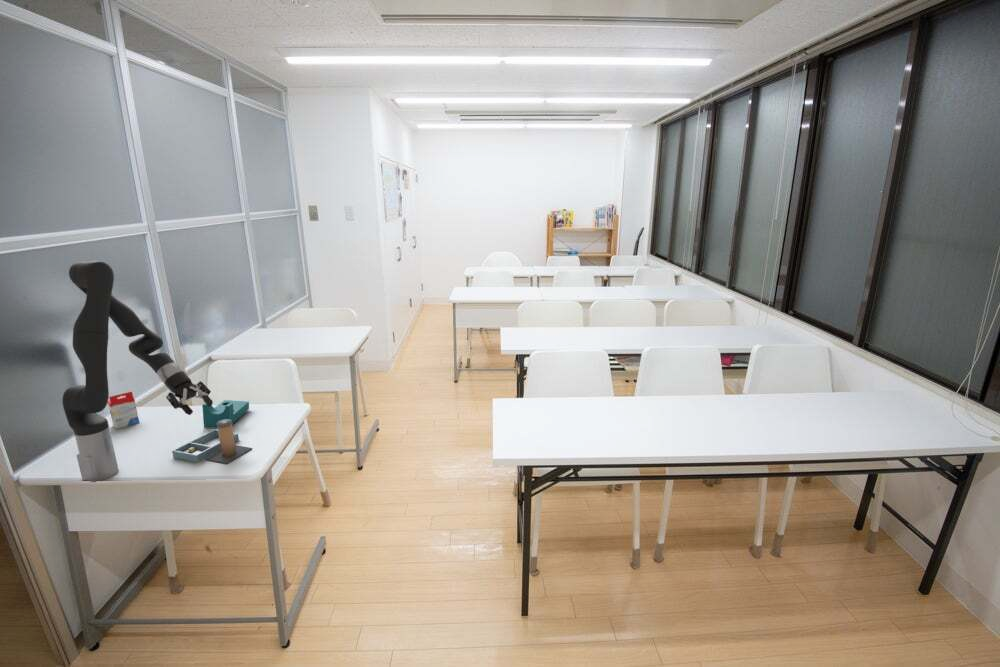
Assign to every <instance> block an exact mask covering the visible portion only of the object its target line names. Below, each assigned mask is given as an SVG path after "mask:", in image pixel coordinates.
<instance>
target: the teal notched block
mask: <svg viewBox="0 0 1000 667" xmlns="http://www.w3.org/2000/svg"><path fill="white" fill-rule="evenodd" d="M249 410H250V402H249V401H246V400H245V401H244V400H231V399H224V400H223V401H221V402H220V403H219V404H218V405H216V406H214V407H213V404H212V405H211V406H208V405H207V404H206V403H205V402H204V403H203V404H202V418H203V428H210V429H218V427H217V422H218V421H221V420H225V419H230V420H232V425H233V423H234V424H235V422H236V421H237V420H239V419H240V418H241V417H242V416H243V415H244V414H245V413H246V412H248V411H249Z"/></svg>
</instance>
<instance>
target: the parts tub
mask: <svg viewBox="0 0 1000 667" xmlns="http://www.w3.org/2000/svg"><path fill="white" fill-rule="evenodd" d="M233 434H234V441H235V443H236V442H239V440H240V438H239V433H237V432H234V431H233ZM214 438H219V434H218V428H213V429H212V430H210V431H208V432H207V433H205V434H202V435H201V436H199V437H196V438H194V439H192V440H191V441H188V442H186V443H184V444H182V445H180V446H178V447H177V448H175V449H172V450H171V453H172V457H173V459H177V460H180V461H181V460H182V461H187V462H192V463H197V464H199V463H200V462H202V461H204V460H206V458H208V457H210V456H212V455H213V454H215V453H217V452H219V451H221V446H220V441H219V442H217V443H216V444H214V445H208V444H204V443H206V442H208V441H210V440H213V439H214Z"/></svg>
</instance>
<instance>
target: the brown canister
mask: <svg viewBox="0 0 1000 667" xmlns="http://www.w3.org/2000/svg"><path fill="white" fill-rule="evenodd" d="M217 430H218V434H219V437H218V439H219V442H220V446H221V450H220V451H221V453H222V456H224V457H228V456H232V455H234V454H235V453H236V447H235V445H236V442H235V441H234V434H233V432H234V428H233V424H232V420H230V419H225V420H221V421H218V422H217Z"/></svg>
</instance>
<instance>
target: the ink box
mask: <svg viewBox="0 0 1000 667" xmlns="http://www.w3.org/2000/svg"><path fill="white" fill-rule="evenodd" d="M107 406H108V410H109V413H110V417H111V422H112V425H113V426H112V427H114V428H115V429H116V430H117V429H121V428H124V427H128V426H132V425H135V424H138V423H140V420H139V415H138V414H139V413H138V410H137V405H136V400H135V397H134V395H133V391H128V392H124V393H120V394H116V395H111V396H109V398H108V403H107Z"/></svg>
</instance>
